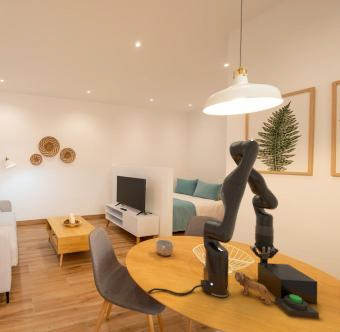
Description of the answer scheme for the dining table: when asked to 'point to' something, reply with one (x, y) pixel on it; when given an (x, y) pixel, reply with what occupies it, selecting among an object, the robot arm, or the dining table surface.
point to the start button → (296, 299)
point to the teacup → (164, 247)
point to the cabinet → (287, 282)
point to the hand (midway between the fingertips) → (263, 265)
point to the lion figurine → (252, 286)
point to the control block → (296, 308)
